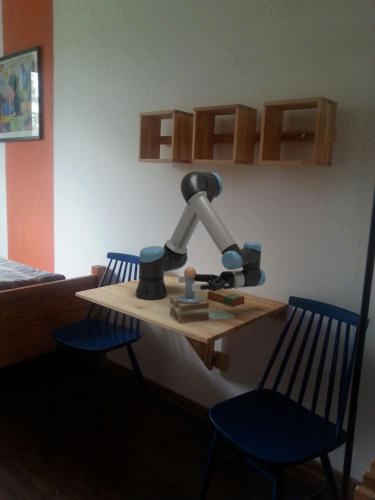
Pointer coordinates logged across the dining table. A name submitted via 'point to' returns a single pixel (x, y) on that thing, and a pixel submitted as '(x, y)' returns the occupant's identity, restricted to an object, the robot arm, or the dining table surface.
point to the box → (189, 311)
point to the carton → (226, 297)
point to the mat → (219, 315)
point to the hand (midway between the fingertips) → (185, 283)
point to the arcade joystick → (189, 288)
